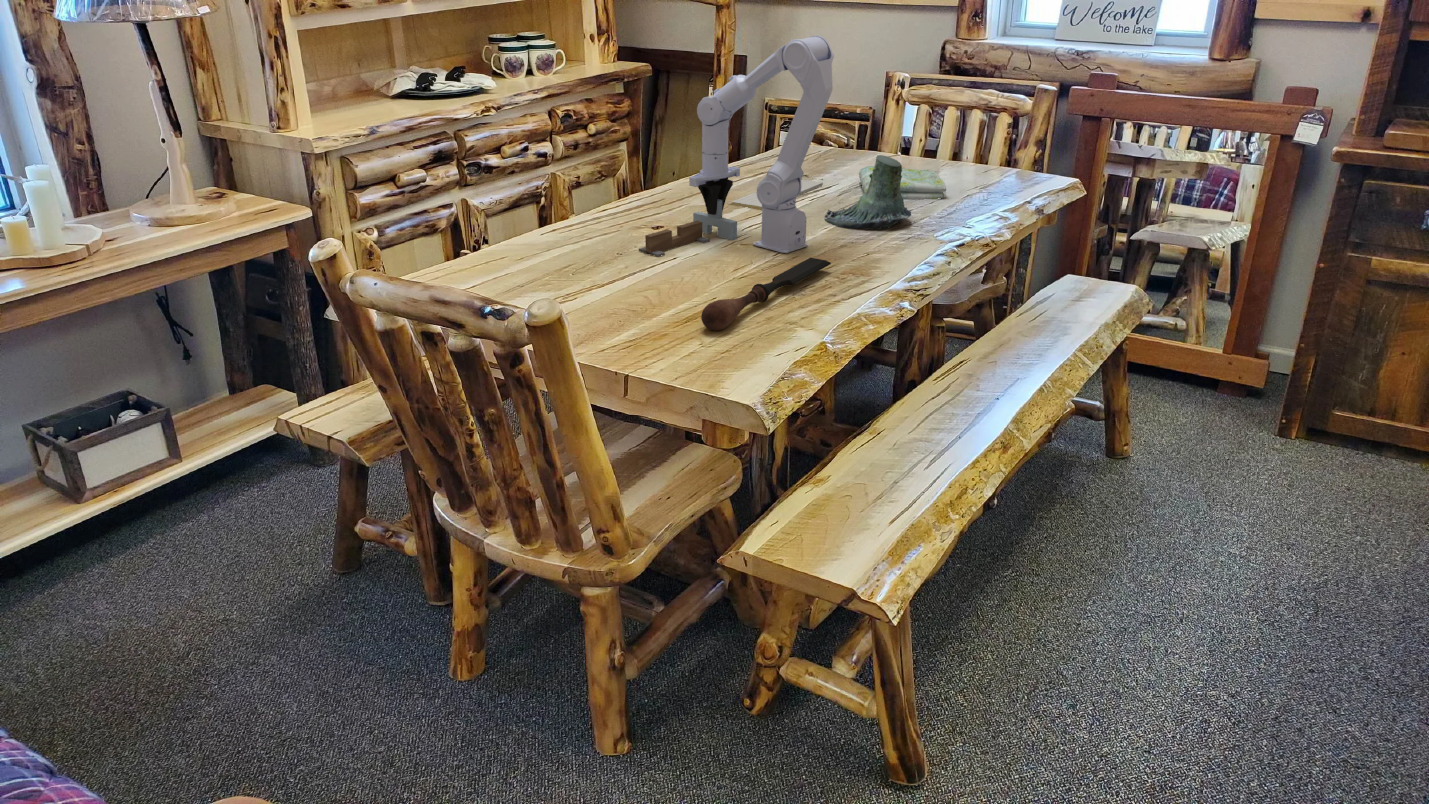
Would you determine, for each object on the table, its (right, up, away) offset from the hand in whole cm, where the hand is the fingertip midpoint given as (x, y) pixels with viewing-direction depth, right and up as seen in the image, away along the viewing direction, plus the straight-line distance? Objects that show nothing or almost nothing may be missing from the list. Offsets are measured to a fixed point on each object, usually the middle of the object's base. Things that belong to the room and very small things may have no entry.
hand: (714, 212), depth 230 cm
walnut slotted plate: (-9, -9, -6) cm, 14 cm away
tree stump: (+37, 0, +13) cm, 39 cm away
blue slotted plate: (0, -4, +2) cm, 5 cm away
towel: (+49, +13, +40) cm, 65 cm away
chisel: (+10, -24, -37) cm, 45 cm away
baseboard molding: (+16, +11, +36) cm, 41 cm away
